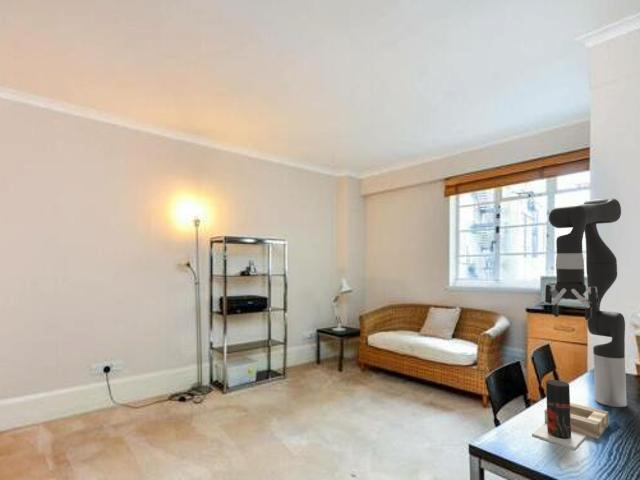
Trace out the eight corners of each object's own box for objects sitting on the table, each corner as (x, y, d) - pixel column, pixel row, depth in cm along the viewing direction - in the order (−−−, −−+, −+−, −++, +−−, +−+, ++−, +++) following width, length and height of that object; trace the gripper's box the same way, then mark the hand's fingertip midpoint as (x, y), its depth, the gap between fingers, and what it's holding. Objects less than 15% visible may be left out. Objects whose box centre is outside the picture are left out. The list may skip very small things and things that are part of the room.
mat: (545, 424, 120) (544, 422, 120) (586, 437, 112) (586, 435, 112) (532, 435, 112) (532, 433, 112) (575, 449, 104) (575, 447, 104)
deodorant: (574, 439, 109) (573, 387, 109) (552, 437, 110) (550, 385, 110) (565, 430, 114) (564, 380, 115) (544, 428, 116) (542, 379, 116)
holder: (559, 411, 130) (558, 399, 131) (609, 424, 120) (608, 411, 120) (544, 422, 121) (544, 410, 121) (597, 438, 111) (597, 424, 111)
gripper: (599, 267, 119) (601, 319, 118) (549, 266, 129) (550, 314, 129) (593, 268, 114) (595, 322, 113) (541, 267, 124) (542, 316, 124)
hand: (571, 318), depth 121 cm, fingers open, 8 cm apart
